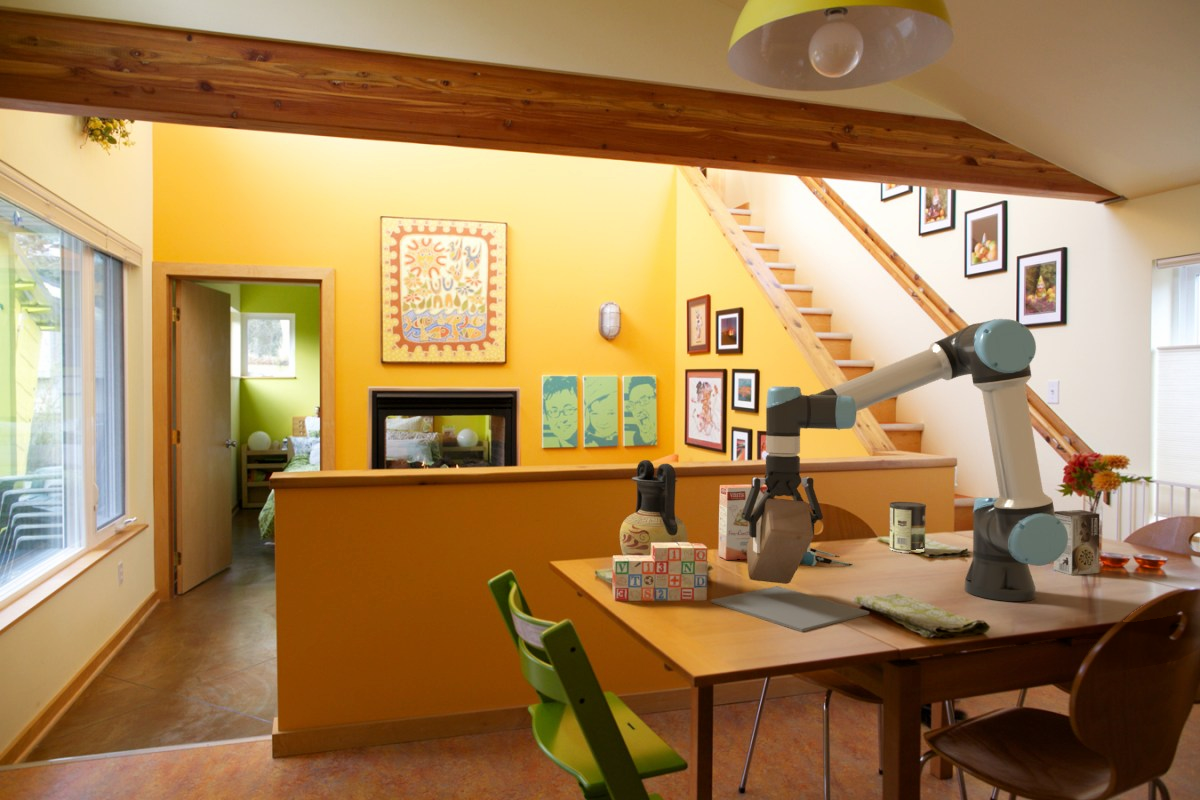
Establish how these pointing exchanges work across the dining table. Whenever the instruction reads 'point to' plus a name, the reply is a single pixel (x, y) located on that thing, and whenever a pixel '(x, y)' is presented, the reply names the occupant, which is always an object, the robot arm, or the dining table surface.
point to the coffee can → (907, 526)
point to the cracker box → (734, 520)
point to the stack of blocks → (662, 573)
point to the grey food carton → (1079, 543)
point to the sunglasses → (818, 558)
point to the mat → (790, 608)
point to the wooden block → (780, 541)
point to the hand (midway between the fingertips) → (781, 551)
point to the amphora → (652, 512)
